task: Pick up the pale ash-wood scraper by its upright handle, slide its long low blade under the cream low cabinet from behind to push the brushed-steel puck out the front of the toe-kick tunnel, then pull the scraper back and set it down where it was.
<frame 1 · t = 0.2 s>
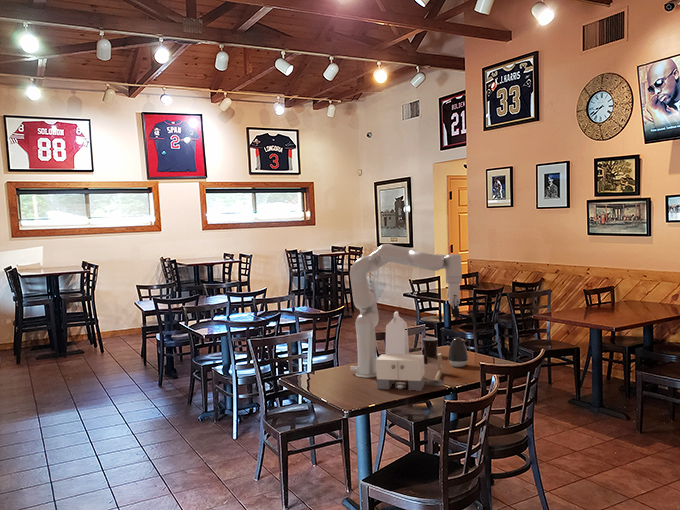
hand: (455, 315, 256), 30 cm above the table, tool pointing down, fingers open, 9 cm apart
milk: (397, 357, 307), on the table
steel puck: (400, 388, 244), on the table
cabinet: (401, 386, 246), on the table
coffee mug: (429, 357, 305), on the table
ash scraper: (440, 374, 265), on the table
pump dispenser: (458, 366, 280), on the table
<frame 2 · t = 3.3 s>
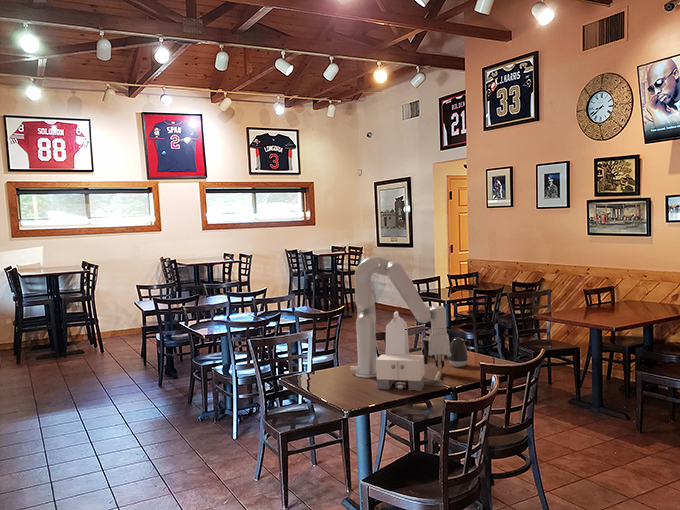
hand: (440, 367, 265), 3 cm above the table, tool pointing down, fingers closed on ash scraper
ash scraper: (440, 374, 265), on the table, touching gripper
everything else where it was.
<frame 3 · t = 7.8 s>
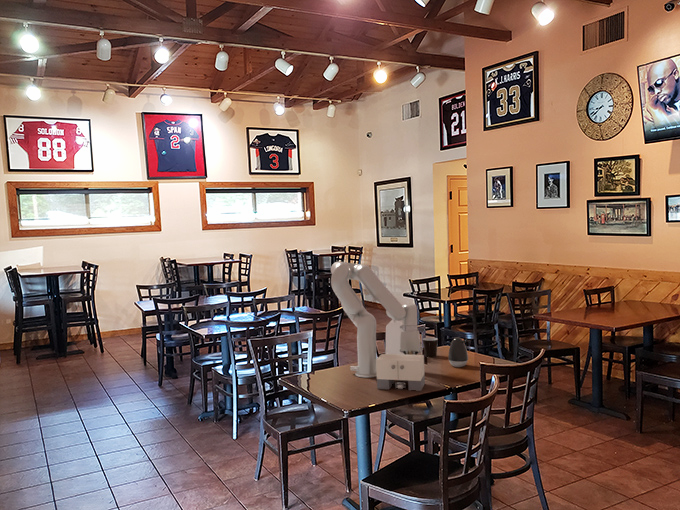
hand: (411, 363, 273), 4 cm above the table, tool pointing down, fingers closed on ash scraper
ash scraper: (411, 369, 274), point 1 cm above the table, touching gripper
everything else where it was.
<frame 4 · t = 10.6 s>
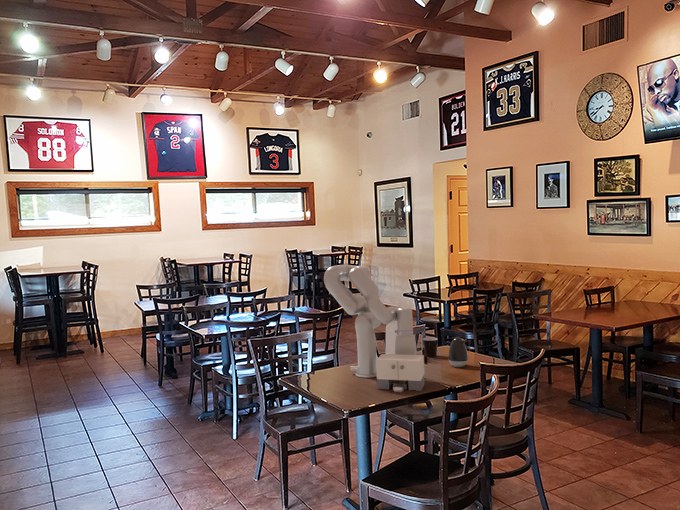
hand: (406, 370, 260), 4 cm above the table, tool pointing down, fingers closed on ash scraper
steel puck: (398, 391, 239), on the table, touching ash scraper
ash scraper: (407, 375, 261), point 1 cm above the table, touching gripper, steel puck
everything else where it was.
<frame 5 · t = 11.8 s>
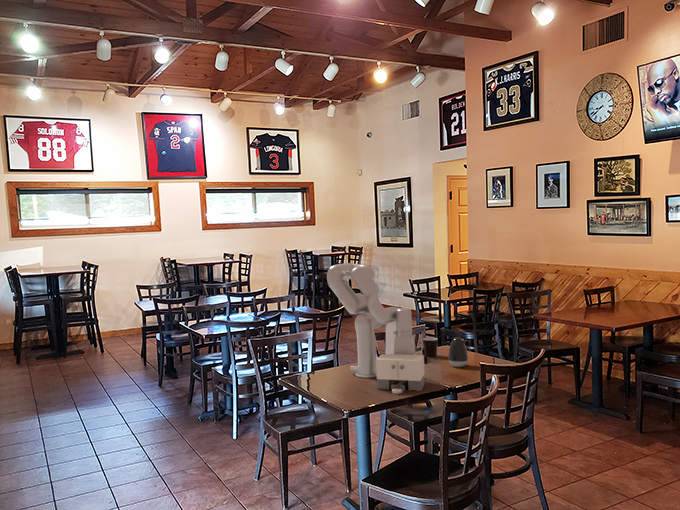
hand: (405, 371, 257), 4 cm above the table, tool pointing down, fingers closed on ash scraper
steel puck: (397, 393, 236), on the table
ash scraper: (406, 376, 259), point 1 cm above the table, touching gripper
everything else where it was.
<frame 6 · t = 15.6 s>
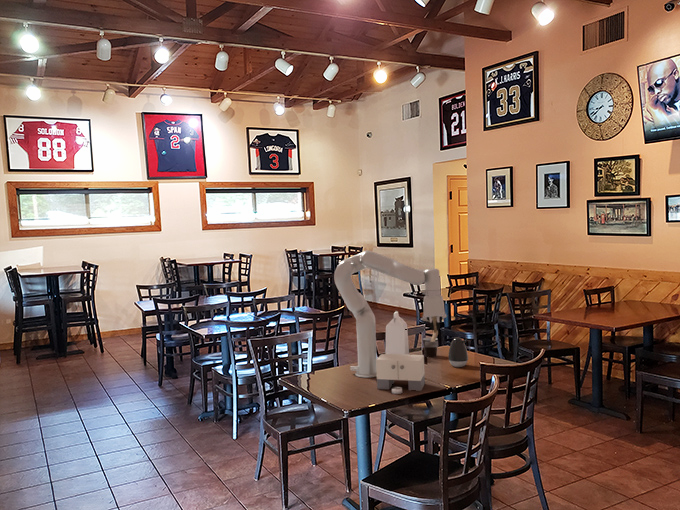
hand: (435, 329, 266), 22 cm above the table, tool pointing down, fingers closed on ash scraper
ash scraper: (436, 335, 268), point 19 cm above the table, tilted 5°, touching gripper
everything else where it was.
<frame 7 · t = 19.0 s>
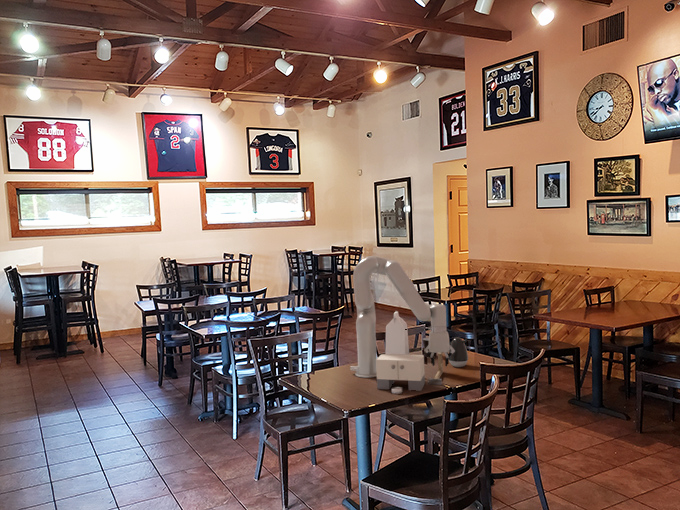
hand: (440, 365, 265), 5 cm above the table, tool pointing down, fingers open, 5 cm apart
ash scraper: (440, 373, 267), on the table
everything else where it was.
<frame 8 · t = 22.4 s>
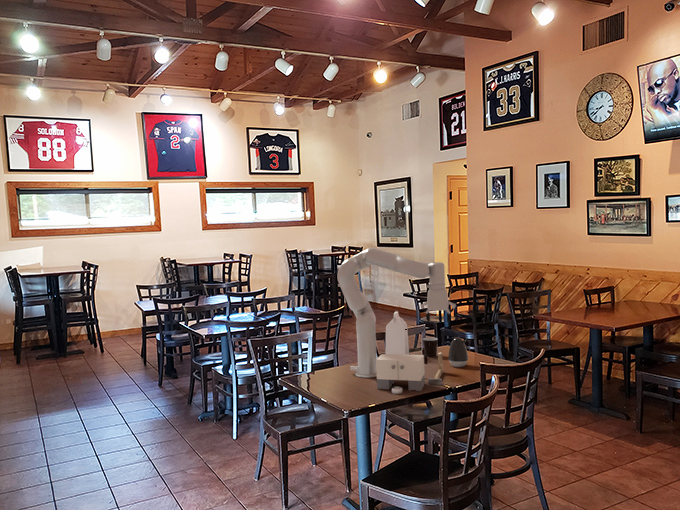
hand: (438, 321, 265), 26 cm above the table, tool pointing down, fingers open, 9 cm apart
nothing on the table moved.
at the end: steel puck inside the target area (4.1 cm from its centre), on the table; steel puck tilted 3°; the gripper is holding nothing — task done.
